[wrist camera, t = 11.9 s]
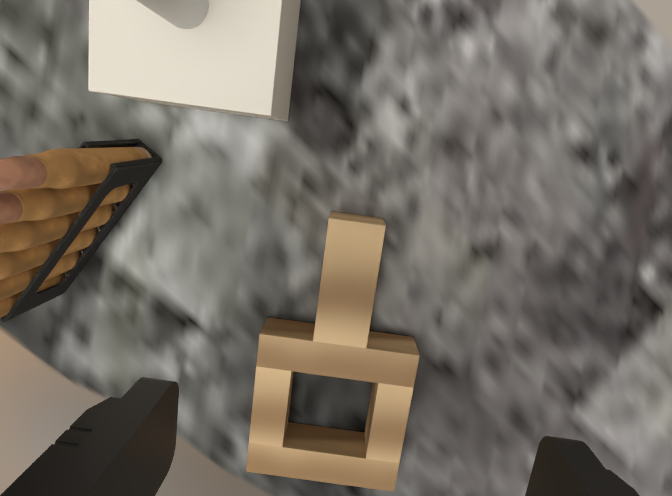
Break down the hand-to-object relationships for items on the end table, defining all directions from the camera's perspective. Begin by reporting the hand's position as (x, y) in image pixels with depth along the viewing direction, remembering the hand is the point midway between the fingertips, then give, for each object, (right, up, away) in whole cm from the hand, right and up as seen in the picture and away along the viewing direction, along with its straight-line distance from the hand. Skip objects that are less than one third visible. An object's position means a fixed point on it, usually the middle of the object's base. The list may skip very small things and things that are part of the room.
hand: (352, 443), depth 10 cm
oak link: (0, -2, +18) cm, 18 cm away
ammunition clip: (-14, +6, +17) cm, 23 cm away
